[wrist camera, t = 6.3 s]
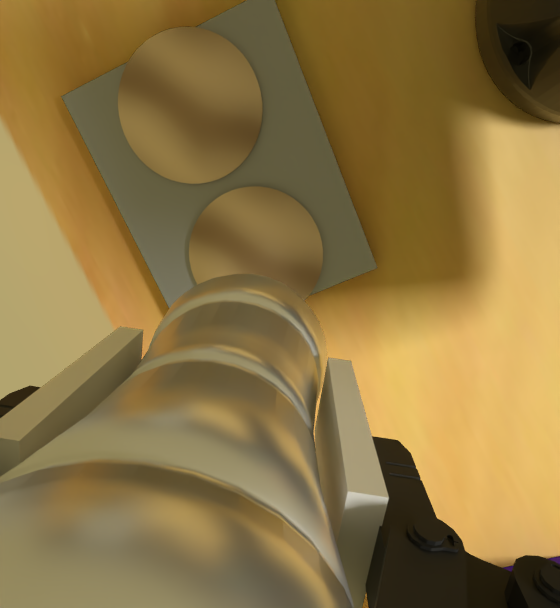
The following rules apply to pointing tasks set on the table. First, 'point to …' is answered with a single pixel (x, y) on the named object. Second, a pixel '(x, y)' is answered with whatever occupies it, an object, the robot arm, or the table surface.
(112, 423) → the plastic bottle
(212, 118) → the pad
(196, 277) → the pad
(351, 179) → the table surface
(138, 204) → the board
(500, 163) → the table surface
